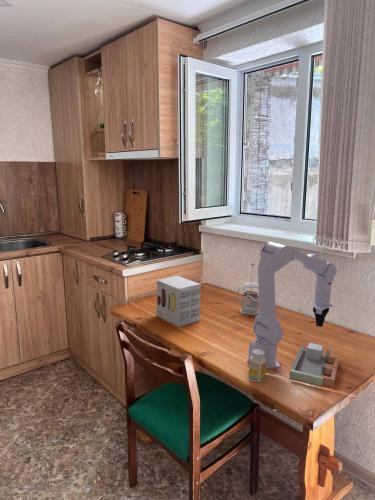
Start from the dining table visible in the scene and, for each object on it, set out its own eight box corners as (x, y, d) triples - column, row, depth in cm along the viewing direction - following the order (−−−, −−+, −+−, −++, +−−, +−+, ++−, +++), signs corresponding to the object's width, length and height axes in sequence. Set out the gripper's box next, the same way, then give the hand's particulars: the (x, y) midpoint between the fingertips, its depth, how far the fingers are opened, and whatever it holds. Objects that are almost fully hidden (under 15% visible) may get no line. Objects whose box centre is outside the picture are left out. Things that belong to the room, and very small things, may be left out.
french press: (261, 315, 183) (264, 265, 178) (237, 314, 183) (240, 264, 179) (258, 308, 193) (261, 260, 188) (235, 307, 193) (237, 260, 188)
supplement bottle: (250, 382, 123) (252, 355, 121) (246, 374, 128) (248, 348, 126) (266, 382, 123) (268, 355, 122) (262, 373, 129) (263, 347, 127)
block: (320, 361, 137) (321, 350, 137) (306, 357, 140) (307, 347, 139) (322, 355, 142) (323, 345, 141) (308, 352, 144) (309, 342, 143)
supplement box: (155, 316, 179) (155, 279, 175) (176, 310, 187) (177, 275, 184) (178, 327, 166) (179, 288, 162) (200, 320, 174) (201, 283, 171)
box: (301, 351, 146) (302, 344, 146) (339, 359, 140) (340, 352, 140) (289, 379, 126) (290, 370, 125) (333, 390, 120) (333, 381, 119)
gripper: (331, 299, 135) (328, 334, 137) (335, 289, 147) (332, 321, 150) (311, 296, 138) (308, 330, 140) (317, 286, 150) (314, 318, 153)
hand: (319, 325), depth 145 cm, fingers closed
